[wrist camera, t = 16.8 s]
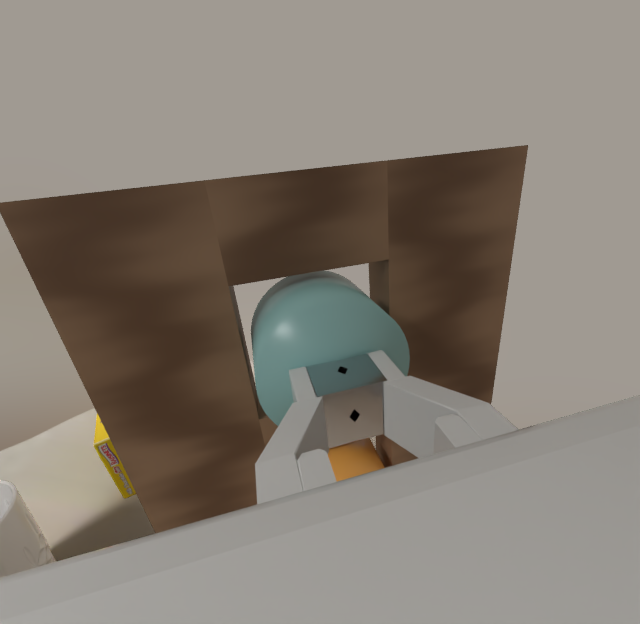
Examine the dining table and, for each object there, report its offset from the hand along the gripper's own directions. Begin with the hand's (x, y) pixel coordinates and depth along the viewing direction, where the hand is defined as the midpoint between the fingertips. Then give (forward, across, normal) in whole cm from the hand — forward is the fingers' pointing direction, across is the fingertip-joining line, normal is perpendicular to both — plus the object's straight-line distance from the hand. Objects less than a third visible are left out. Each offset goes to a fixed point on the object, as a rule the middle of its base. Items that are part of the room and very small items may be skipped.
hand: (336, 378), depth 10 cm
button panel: (+6, 0, +24) cm, 25 cm away
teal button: (+2, 0, +2) cm, 3 cm away
